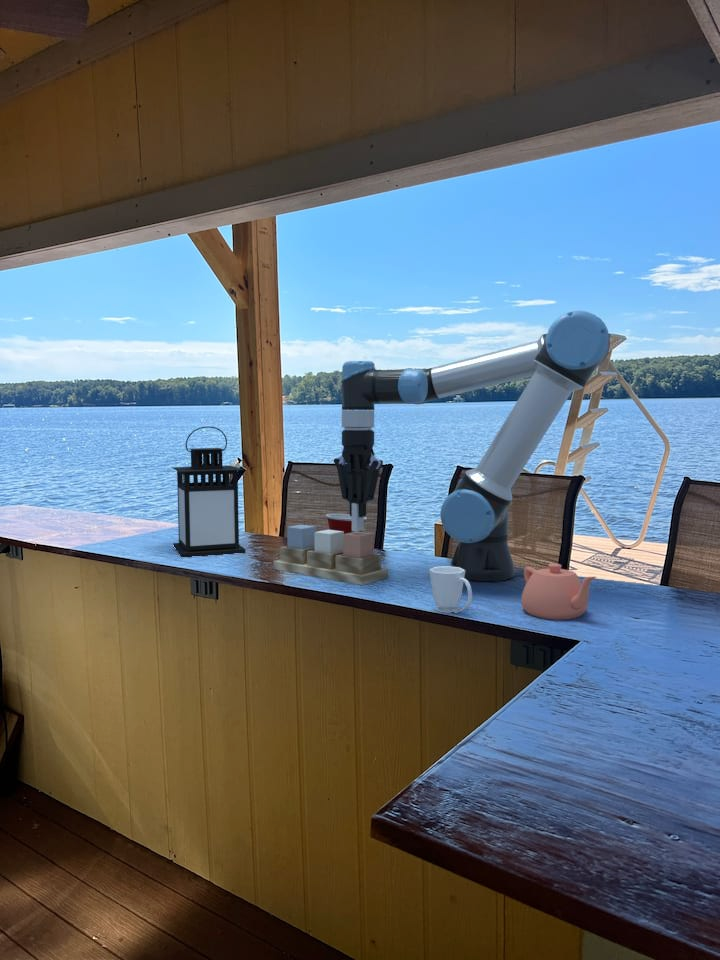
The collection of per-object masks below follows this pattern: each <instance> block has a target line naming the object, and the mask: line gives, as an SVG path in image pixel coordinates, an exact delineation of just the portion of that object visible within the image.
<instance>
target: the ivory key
mask: <svg viewBox="0 0 720 960" xmlns="http://www.w3.org/2000/svg"><path fill="white" fill-rule="evenodd" d="M343 534H344V531H336V530H330V529H324V530H319V531H316V532H314V538H315V552H321V553H327V554H333V553H337V552H342V551H343Z"/></svg>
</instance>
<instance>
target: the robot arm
mask: <svg viewBox="0 0 720 960" xmlns="http://www.w3.org/2000/svg"><path fill="white" fill-rule="evenodd" d="M610 345H611V341H610V335H609V330H608V327H607V325H606V323H605V322H604V321H603V320H602V319H601V318H600V317H598V316H597V315H596V314H593V313H591V312H589V311H585V310H572V311H568V312H565V313H564V314H562V315H560V316H559V317H558V318H557V319H555V320H554V321H553V322H552V323H551V325H550V326H549V328H548V330H547V333H544V334H541V335H540V337H539V338H538V340H536V341H535V340H534V341H531V342H527V343H524V344H519V345H516V346H511V347H507V348H504V349H501V350H496V351H491V352H488V353H484V354H481V355H476V356H473V357H469V358H464V359H460V360H457V361H453V362H449V363H445V364H441V365H437V366H433V367H431V368H425V369H418V368H417V369H416V368H405V369H403V368H402V369H401V368H400V369H376V366H375V362H373V361H370V360H349V361H348V360H347V361H345V362H343V365H342V368H341V370H342V371H341V381H340V383H341V427H342V428H343V430H342V431H341V445H342V446H343V449H342V451H341V455H340V456H339V457H338V458H337V457H336V458H334V459H333V463H334V465H335V468H336V470H337V475H338V481H339V486H340V492H341V499H343V500H346V501H347V502H348V503H349V514H350V516H352V531H355V532H358V531H362V532H364V531H365V522H364V517H366V518H367V503H368V502H371V501H373V500H374V498H375V494H376V490H377V489H376V488H377V484H378V479H379V473H380V470H381V468H382V466H383V465H384V461H383V460H382V459H378V458H377V457H376V456H375V452H374V449H373V447H374V445H375V431H374V430H372V428H374V427H375V404H408V405H409V404H411V405H422V404H423V405H424V404H426V403H428V402H430V401H434V400H437V399H442V398H446V397H450V396H454V395H458V394H463V393H467V392H472V391H476V390H480V389H485V388H489V387H492V386H497V385H501V384H505V383H509V382H514V381H519V380H522V379H527V378H530V377H531V378H530V380H529V382H528V383H527V385H526V386H525V388H524V389H523V391H522V393H521V395H520V396H519V398H518V399H517V401H516V403H515V404H514V406H513V407H512V409H511V411H510V412H509V414H508V415H507V417H506V419H505V420H504V422H503V424H502V425H501V426H500V428H499V430H498V432H497V434H496V435H495V436H494V438H493V440H492V442H491V443H490V445H489V446H488V448H487V450H486V451H485V453H484V455H483V456H482V457H481V460H480V461H479V463H478V465H477V466H476V467H475V468H472V469H468V470H466V471H465V472H464V475H462V477H461V478H460V479H459V481H458V484H457V485H456V487H455V488H454V491H453V492H451V493H450V494H448V496H446V498H445V499H444V500H443V502H442V504H441V507H440V514H439V516H440V522H441V524H442V528H443V529H444V530H445V532H446V533H447V534H448V535H449V536H450V537H451V538H452V539H454V540H455V541H457V543H456V547H455V549H454V552H453V556H452V559H451V562H450V565H449V566H452V567H460V568H462V569H464V570H465V576H464V578H465V579H466V580H468V581H475V582H498V581H506V580H510V579H512V578H515V570H516V569H515V564H514V561H513V557H512V553H511V551H510V548H509V543H508V535H509V534H508V533H509V532H508V531H509V529H508V528H509V526H508V525H509V505H510V504H511V502H512V500H513V494H512V487H513V486H514V483H516V481H517V479H518V477H519V476H520V475H521V473H522V471H523V470H524V469H525V467H526V465H527V464H528V462H529V460H530V459H531V458H532V456H533V454H534V452H535V451H536V450H537V448H538V446H539V444H540V443H541V442H542V439H543V438H544V437H545V435H546V434H547V432H548V430H549V429H550V427H551V425H552V424H553V423H554V421H555V419H556V418H557V417H558V414H559V413H560V412H561V410H562V408H563V407H564V405H565V403H566V402H567V400H568V399H569V397H570V395H571V394H572V393H573V392H576V391H579V390H583V388H585V387H586V384H587V382H588V381H589V379H590V378H591V376H592V375H593V374H594V372H595V370H596V369H597V368H598V367H600V366H601V364H602V363H603V362H604V361H605V360H606V358H607V356H608V354H609V351H610Z"/></svg>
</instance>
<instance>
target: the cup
mask: <svg viewBox="0 0 720 960" xmlns="http://www.w3.org/2000/svg"><path fill="white" fill-rule="evenodd" d="M428 571H429V578H430V583H431V592H432V596H433V600H434V604H435V605H436V606H437V607H435V611H437V612H438V611H439V612H438V613H442V612H445V613H444V614H450V613H449V612H454V614H459V613H461V612H463V611H465V610H466V609H468V608H469V607H470V606H471V604H472V601H473V592H472V586H471V584H470V581H469V580H466V579H465V578H464V576H465V570H464V569H462V568H460V567H452V566H450V565H442V566H435V567H431V568H429V569H428ZM464 585H465V586H466V588H467V589H466V590H467V596H468V597H467V602H466V603H465V605H464V606H463V607H462V608H460V609H459V608H458V606H459V604H460V601H461V599H462V593H463V587H464ZM457 610H458V611H457ZM458 612H459V613H458Z"/></svg>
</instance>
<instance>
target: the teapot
mask: <svg viewBox="0 0 720 960" xmlns="http://www.w3.org/2000/svg"><path fill="white" fill-rule="evenodd" d="M523 576H524V580H525V586H524V588H523V589H522V594H521V601H520V602H521V606H522V607H523V609H524V610H525V612H526V613H527V614H529V615H531V616H534V617H536V618H539V619H545V620H553V619H556V620H555V621H557V620H560V619H564V620H572V619H571V618H573V619H576V617H577V618H579V617H581V616H582V615H583V614H584V613H585V612H586V610H587V609H588V607H589V603H588V601H589V598H590V587H591V583H592V582H593V581H594V580H595V579H597V576H586V577H584V578H583V579H582V581H581V580H580V578H579V576H578V574H577V573H576V572H575V571H573V570H568V569H564V568H562V565H561V564H560V563H549V564H548V568H539V569H536V568H534V567H532V566H526V567H524V569H523ZM578 616H579V617H578ZM560 621H561V620H560Z"/></svg>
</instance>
